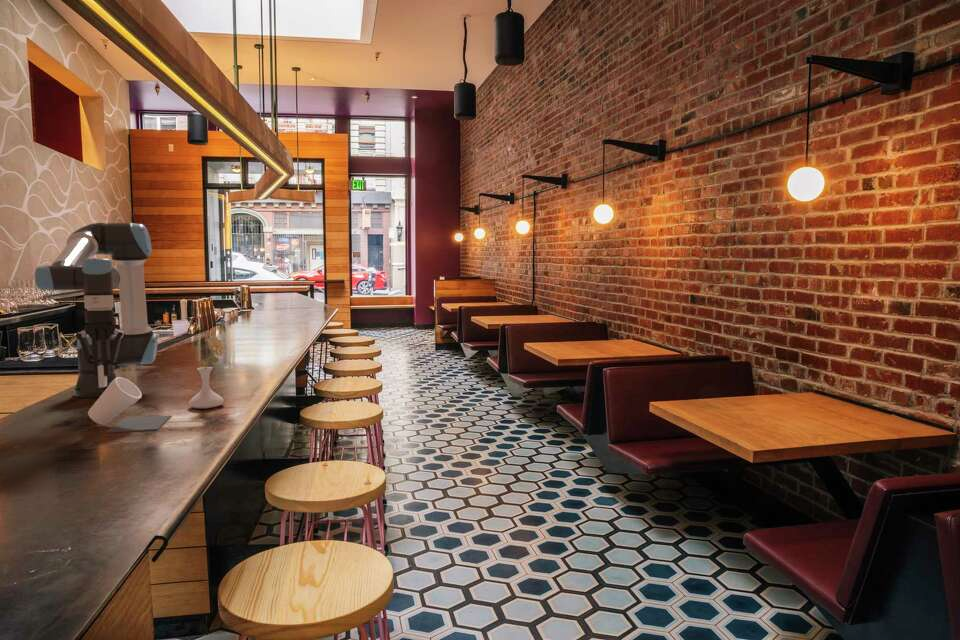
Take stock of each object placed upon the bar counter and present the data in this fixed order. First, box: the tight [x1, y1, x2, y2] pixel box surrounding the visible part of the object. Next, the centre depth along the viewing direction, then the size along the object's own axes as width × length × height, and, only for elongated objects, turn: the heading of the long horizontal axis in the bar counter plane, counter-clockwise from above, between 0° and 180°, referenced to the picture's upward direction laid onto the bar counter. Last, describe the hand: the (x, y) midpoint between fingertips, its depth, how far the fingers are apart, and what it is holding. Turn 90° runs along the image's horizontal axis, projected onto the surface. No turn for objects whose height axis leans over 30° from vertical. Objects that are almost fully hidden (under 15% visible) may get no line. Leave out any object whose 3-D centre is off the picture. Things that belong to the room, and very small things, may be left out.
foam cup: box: [87, 376, 143, 426], centre depth 188 cm, size 10×9×13 cm
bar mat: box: [105, 414, 172, 434], centre depth 191 cm, size 16×14×1 cm
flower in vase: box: [187, 334, 226, 409], centre depth 212 cm, size 13×11×25 cm
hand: (103, 386), depth 186 cm, fingers closed
